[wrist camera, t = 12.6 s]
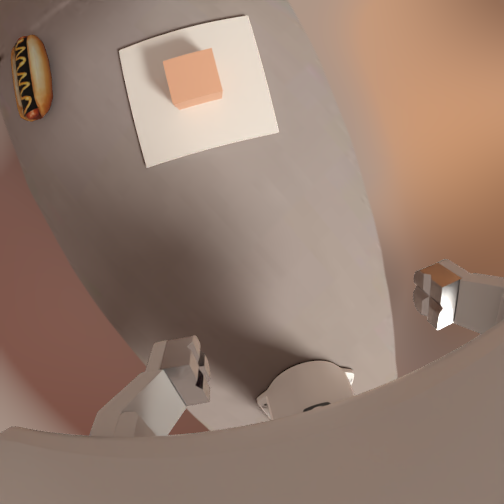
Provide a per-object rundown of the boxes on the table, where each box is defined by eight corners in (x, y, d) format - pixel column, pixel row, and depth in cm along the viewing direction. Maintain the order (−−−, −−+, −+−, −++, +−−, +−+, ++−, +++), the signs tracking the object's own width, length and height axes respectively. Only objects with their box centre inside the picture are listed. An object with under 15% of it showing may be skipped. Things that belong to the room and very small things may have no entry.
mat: (278, 132, 32) (279, 132, 31) (148, 167, 32) (146, 168, 31) (247, 17, 26) (247, 15, 25) (120, 51, 25) (118, 50, 25)
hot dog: (50, 33, 22) (33, 24, 17) (64, 108, 27) (45, 106, 22) (24, 52, 22) (5, 45, 17) (37, 126, 27) (16, 127, 22)
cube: (221, 98, 29) (222, 90, 24) (179, 109, 29) (172, 104, 24) (212, 60, 27) (211, 47, 23) (170, 72, 27) (162, 61, 22)
